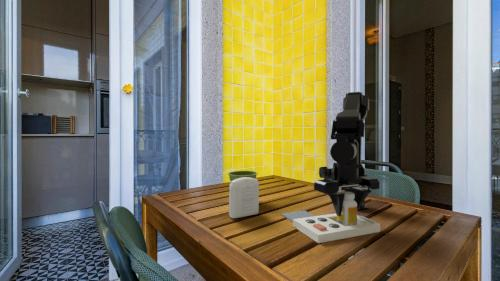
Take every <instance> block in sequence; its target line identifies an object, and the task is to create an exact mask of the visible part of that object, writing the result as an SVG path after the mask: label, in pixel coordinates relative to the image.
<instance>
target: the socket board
mask: <svg viewBox="0 0 500 281" xmlns="http://www.w3.org/2000/svg"><path fill="white" fill-rule="evenodd" d="M292 227H294V228H295V227H296V228H295V229H297V230H298V231H299V232H301V233H303V234H304V235H305V236H307V237H309V238H310V239H311V240H313V241H315V243H318V244H321V243H322V244H323V243H326V242H327V243H328V242H332V241H337V240H342V239H343V240H344V239H349V238H354V237H358V236H365V235H370V234H371V235H372V234H374V233H375V234H376V233H380V232H381V224H380V223H378V222H376V221H375V220H373V219H371V218H367V217H365V216H364V215H358V214H357V225H351V226H344V225H342V224H340V223H338V222H337V214H336V212H334V213H327V214H321V215H314V216H312V217H305V218H297V219H293V222H292Z"/></svg>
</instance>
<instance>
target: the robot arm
mask: <svg viewBox="0 0 500 281" xmlns="http://www.w3.org/2000/svg"><path fill="white" fill-rule="evenodd" d="M342 102H343V103H342V111H340V112H338V113H337V114H336V116H335V119H333V120H332V126H331V127H332V128H331V133H330V140H336V142H334V143H333V144H332V145H331V147H330V152H329V153H330V157H331V158H332V160H333V161H334V162H333V164H332V168H328V167H327V166H321V167H319V168H318V176H319V178H320V179H316V180H315V181H314V183H313V190H314V191H317V192H319V193H322V194H325V195H328V197H329V198H330V201H331V204H332V206H333V208H334V212H335V213H336V214H337V216H341V212H342V207H343V201H344V196H345V194H344V193H341V192H342V191H344V192H352V193H354V194H355V199H354V201H356V203H357V213H358V212H359V211H361V210H367V209H368V208H369V206H366V205H365V201H366V199H367V197H368V195H369V194H370V193H372V190H379V189H380V186H381V185H380V181H379V180H378V178H376V177H370V176H368V175H367V173H366V169H365V167H364V166H363V164H362V139H363V138H365V132H366V131H365V129H366V124H365V119H366V118H367V116H368V111H370V98H369V96H366V95H364V94H363V92H361V91H352V92H350V91H349V92H347V93H345V97H344V98H343V101H342Z"/></svg>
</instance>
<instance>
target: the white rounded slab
mask: <svg viewBox="0 0 500 281" xmlns="http://www.w3.org/2000/svg"><path fill="white" fill-rule="evenodd" d="M259 185H260V183H259V180H258V179H257V178H256V179H254V178H250V177H242V178H238V179H235V180H233V181H230V182H229V185H228V188H229V189H228V192H229V194H228V216H229V218H231V219H238V218H244V217H248V216H253V215H258V214H259V211H260V210H259V209H260V208H259V207H260V205H259V203H260V202H259V199H260V197H259V196H260V195H259V193H260V191H259V190H260V186H259Z"/></svg>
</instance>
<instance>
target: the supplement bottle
mask: <svg viewBox="0 0 500 281" xmlns="http://www.w3.org/2000/svg"><path fill="white" fill-rule="evenodd" d="M341 193H344V194H345V196H344V201H343V207H342V212H341V216H337V222H338V223H340V224H342V225H344V226H351V225H357V215H358V212H357V203H356V201H354V199H355V194H354V193H352V192H345V191H341Z"/></svg>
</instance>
